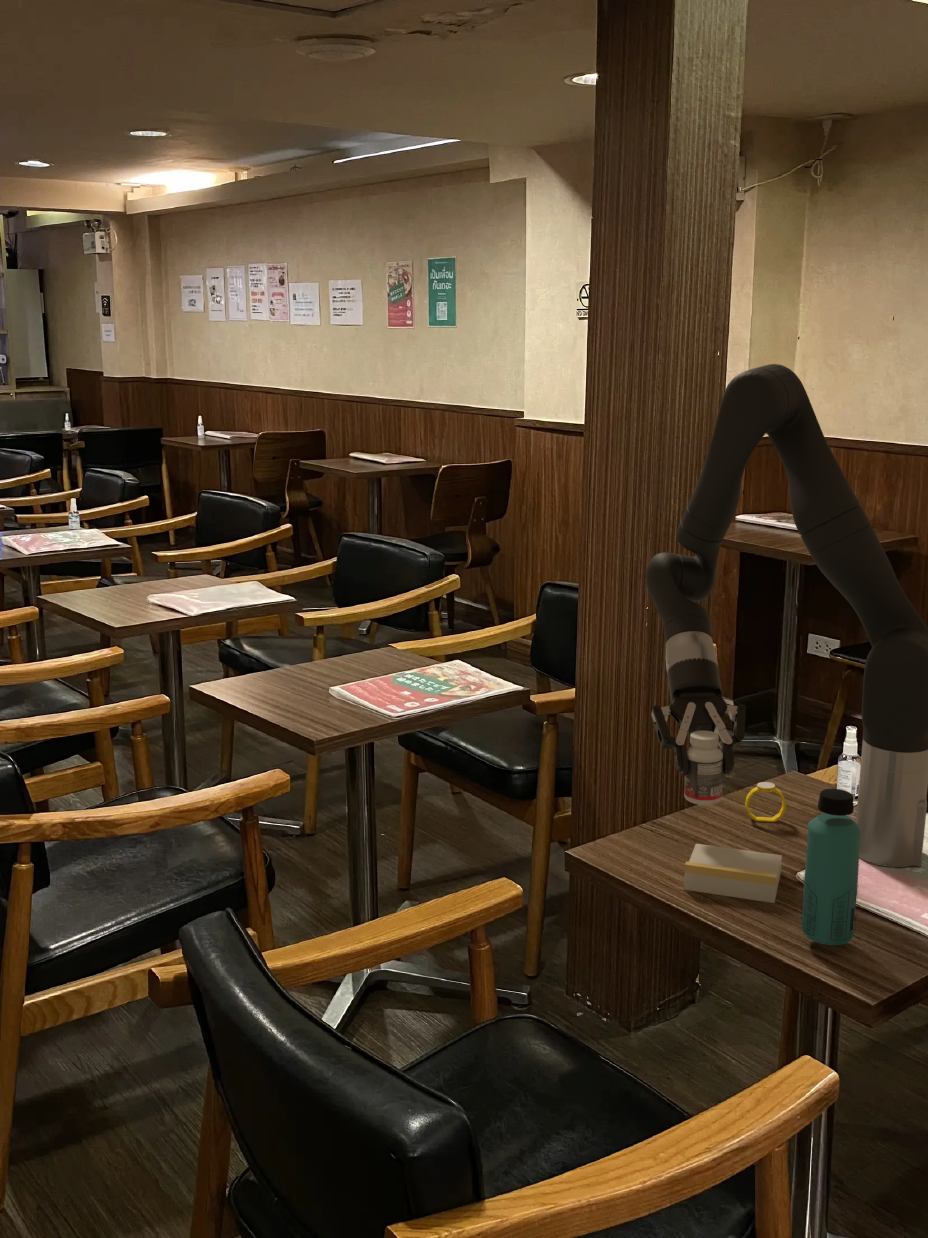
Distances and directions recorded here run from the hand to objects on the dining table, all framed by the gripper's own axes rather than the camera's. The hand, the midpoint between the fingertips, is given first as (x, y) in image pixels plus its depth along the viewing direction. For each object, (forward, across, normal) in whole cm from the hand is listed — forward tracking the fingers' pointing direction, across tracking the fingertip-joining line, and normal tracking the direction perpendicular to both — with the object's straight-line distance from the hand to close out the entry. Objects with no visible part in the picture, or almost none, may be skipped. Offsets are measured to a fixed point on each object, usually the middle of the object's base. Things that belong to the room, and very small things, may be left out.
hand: (706, 772), depth 170 cm
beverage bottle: (+27, +10, -8) cm, 30 cm away
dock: (+15, +2, +4) cm, 15 cm away
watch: (0, +12, +19) cm, 22 cm away
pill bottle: (+2, 0, +5) cm, 5 cm away
